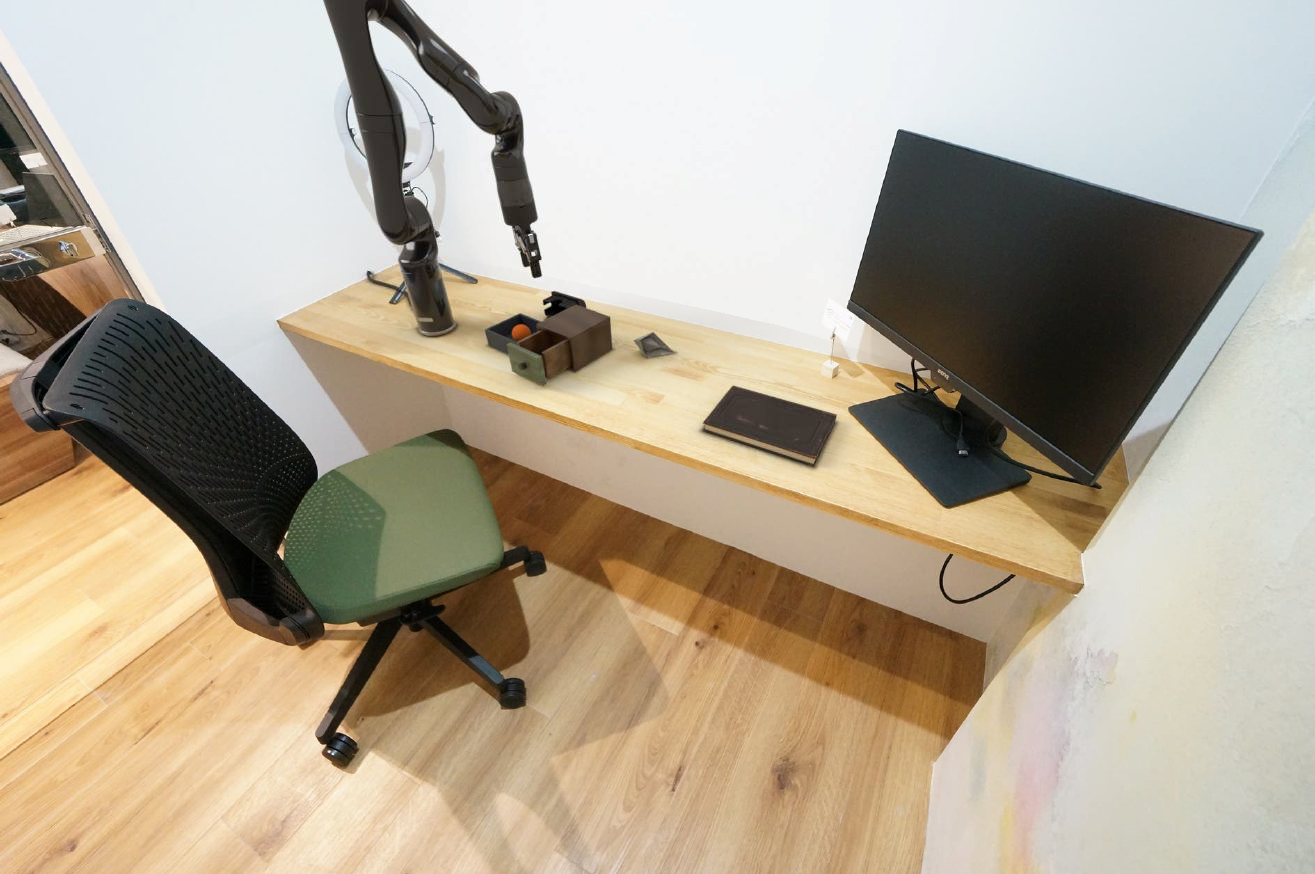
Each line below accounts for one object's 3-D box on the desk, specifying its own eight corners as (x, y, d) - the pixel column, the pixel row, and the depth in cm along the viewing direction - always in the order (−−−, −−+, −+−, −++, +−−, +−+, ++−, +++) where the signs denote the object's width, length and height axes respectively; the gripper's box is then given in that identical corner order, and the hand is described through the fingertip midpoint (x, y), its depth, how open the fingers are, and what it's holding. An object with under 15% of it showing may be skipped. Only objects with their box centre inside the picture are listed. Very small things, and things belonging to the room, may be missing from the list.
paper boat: (662, 336, 137) (686, 340, 131) (656, 361, 138) (680, 365, 131) (626, 324, 129) (651, 327, 122) (620, 350, 130) (644, 354, 123)
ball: (509, 343, 136) (506, 326, 133) (523, 336, 139) (520, 319, 136) (522, 348, 134) (518, 331, 131) (536, 341, 137) (533, 324, 134)
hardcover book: (813, 467, 99) (815, 457, 98) (702, 431, 108) (702, 422, 107) (835, 421, 110) (837, 412, 109) (732, 392, 119) (733, 383, 118)
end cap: (588, 318, 148) (585, 295, 144) (570, 328, 144) (568, 305, 140) (561, 310, 153) (558, 287, 149) (544, 319, 148) (540, 296, 144)
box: (488, 345, 137) (484, 329, 134) (522, 328, 144) (520, 313, 141) (524, 361, 130) (520, 345, 127) (558, 343, 137) (556, 327, 135)
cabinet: (574, 372, 126) (570, 338, 121) (541, 357, 132) (535, 324, 126) (612, 349, 135) (610, 316, 129) (579, 336, 140) (575, 304, 135)
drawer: (538, 388, 119) (533, 360, 115) (508, 373, 124) (502, 346, 120) (580, 363, 128) (577, 336, 123) (550, 350, 133) (546, 323, 128)
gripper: (493, 196, 121) (510, 266, 131) (507, 209, 110) (524, 284, 120) (525, 190, 123) (539, 259, 133) (542, 203, 113) (556, 277, 123)
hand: (532, 271), depth 127 cm, fingers open, 8 cm apart
